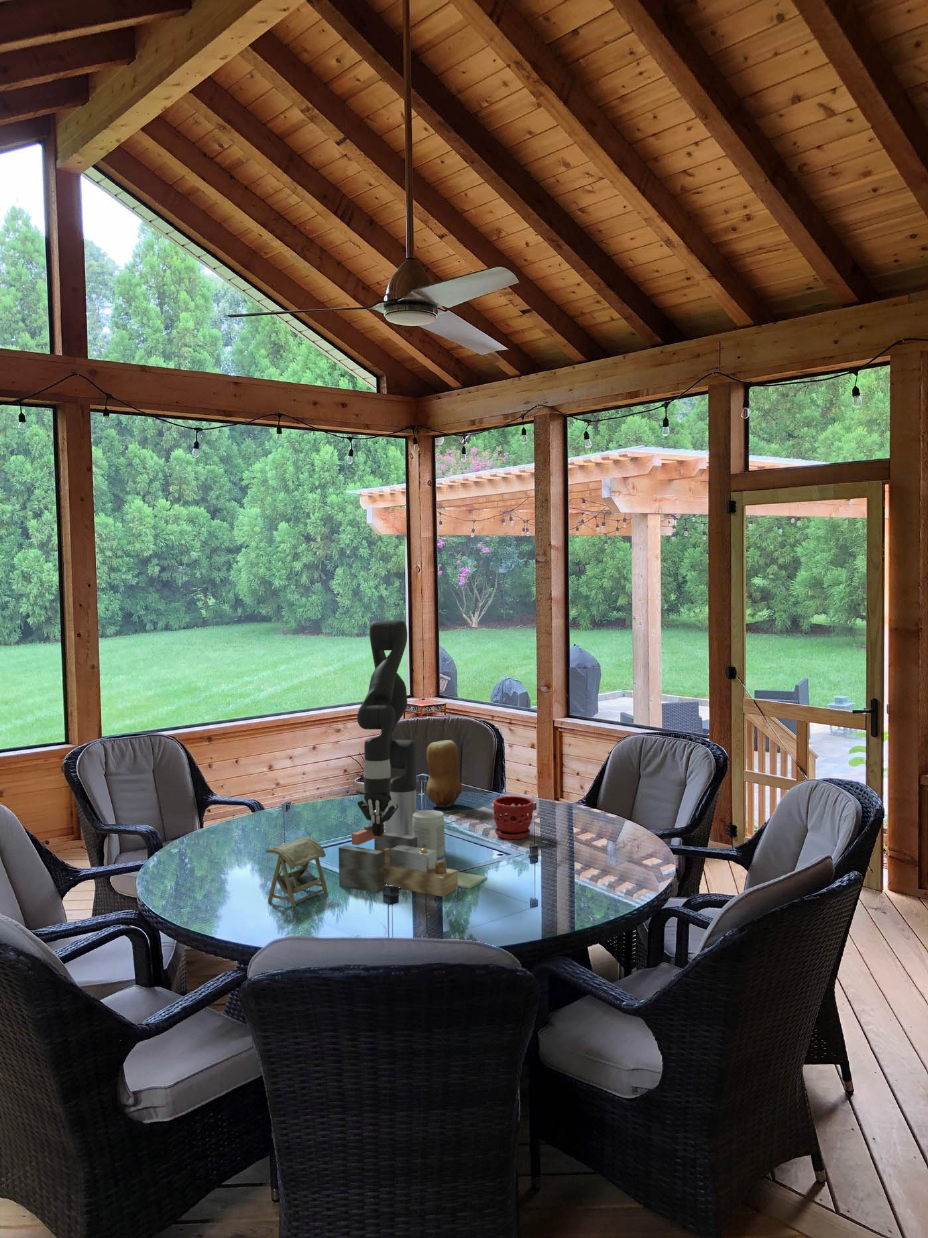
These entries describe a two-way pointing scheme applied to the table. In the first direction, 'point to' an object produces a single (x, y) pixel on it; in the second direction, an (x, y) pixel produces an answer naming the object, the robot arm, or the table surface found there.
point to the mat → (469, 880)
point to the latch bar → (364, 835)
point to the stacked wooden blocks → (391, 869)
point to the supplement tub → (430, 831)
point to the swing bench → (301, 878)
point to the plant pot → (513, 816)
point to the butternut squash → (443, 773)
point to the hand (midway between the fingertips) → (378, 835)
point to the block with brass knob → (412, 858)
